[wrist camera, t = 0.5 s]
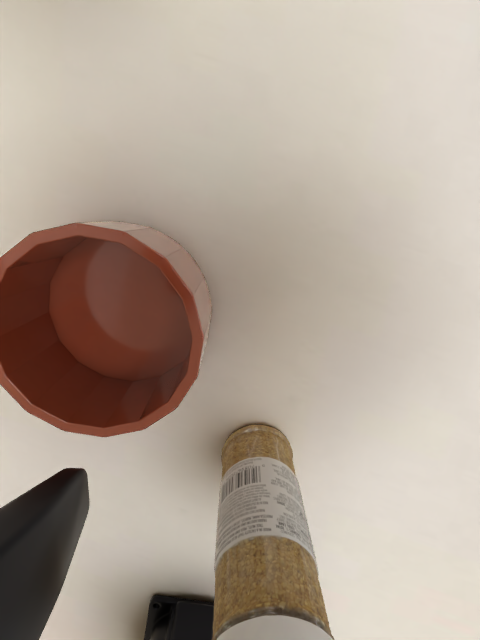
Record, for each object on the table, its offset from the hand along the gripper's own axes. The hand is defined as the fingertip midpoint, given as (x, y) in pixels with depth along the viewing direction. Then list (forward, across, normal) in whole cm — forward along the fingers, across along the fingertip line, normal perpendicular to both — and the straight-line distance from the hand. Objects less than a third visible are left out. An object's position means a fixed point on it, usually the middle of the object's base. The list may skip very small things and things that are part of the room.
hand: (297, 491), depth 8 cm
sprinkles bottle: (+14, 0, +9) cm, 17 cm away
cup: (+14, +8, -1) cm, 16 cm away
